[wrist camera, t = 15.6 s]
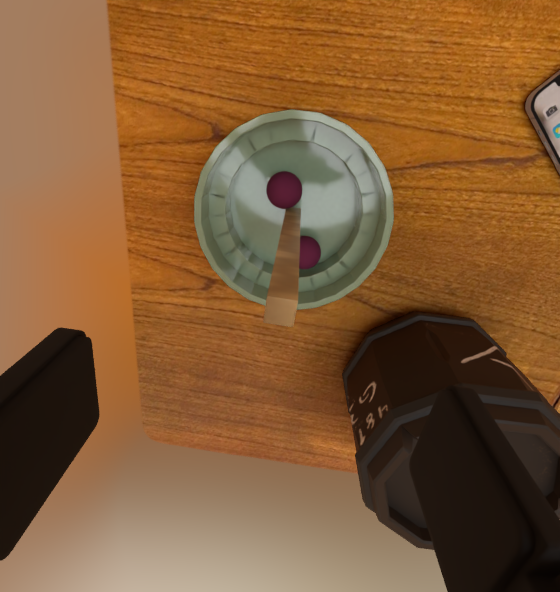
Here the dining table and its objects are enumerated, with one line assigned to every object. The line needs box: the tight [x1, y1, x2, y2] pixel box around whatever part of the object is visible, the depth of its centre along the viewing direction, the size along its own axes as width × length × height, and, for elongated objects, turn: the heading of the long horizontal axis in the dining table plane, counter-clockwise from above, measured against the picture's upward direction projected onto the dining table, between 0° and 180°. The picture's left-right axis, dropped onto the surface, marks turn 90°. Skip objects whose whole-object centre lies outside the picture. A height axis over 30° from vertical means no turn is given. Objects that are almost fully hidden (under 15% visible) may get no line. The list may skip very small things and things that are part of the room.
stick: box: [263, 207, 301, 327], centre depth 25 cm, size 1×1×20 cm
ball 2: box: [299, 236, 321, 269], centre depth 34 cm, size 3×3×3 cm
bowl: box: [194, 109, 394, 310], centre depth 32 cm, size 16×16×6 cm
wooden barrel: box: [342, 312, 560, 550], centre depth 35 cm, size 18×18×16 cm
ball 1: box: [266, 171, 302, 209], centre depth 32 cm, size 3×3×3 cm
